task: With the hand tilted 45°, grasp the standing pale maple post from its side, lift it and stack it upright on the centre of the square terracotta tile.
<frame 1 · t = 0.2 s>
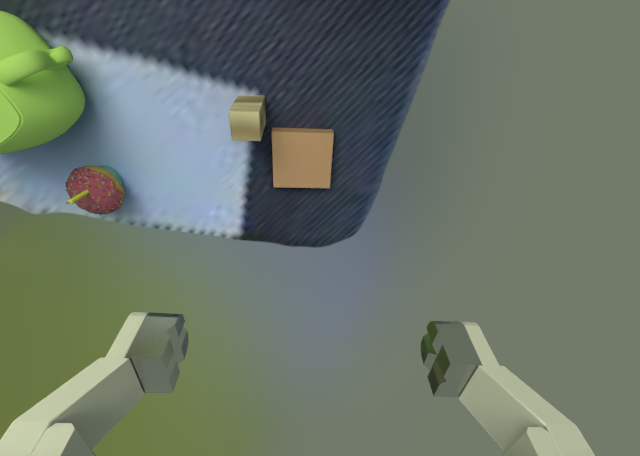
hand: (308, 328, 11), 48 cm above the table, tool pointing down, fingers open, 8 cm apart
teapot: (5, 64, 48), on the table
cupcake: (109, 178, 59), on the table
tile: (302, 155, 59), on the table
post: (252, 108, 53), on the table
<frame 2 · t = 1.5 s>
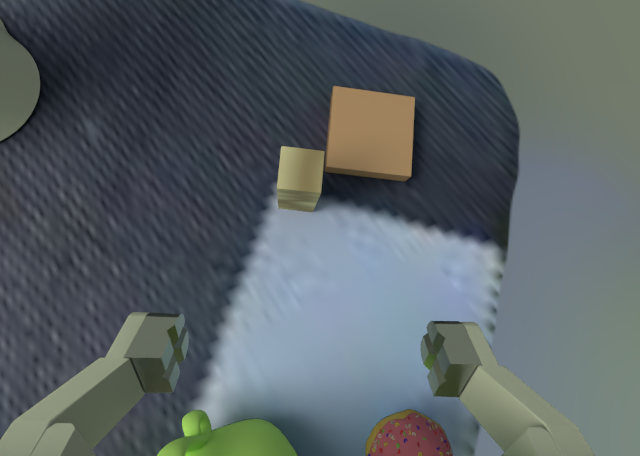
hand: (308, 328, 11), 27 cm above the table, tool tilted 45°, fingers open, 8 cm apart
cupcake: (393, 436, 37), on the table
tile: (366, 139, 42), on the table
post: (297, 193, 39), on the table
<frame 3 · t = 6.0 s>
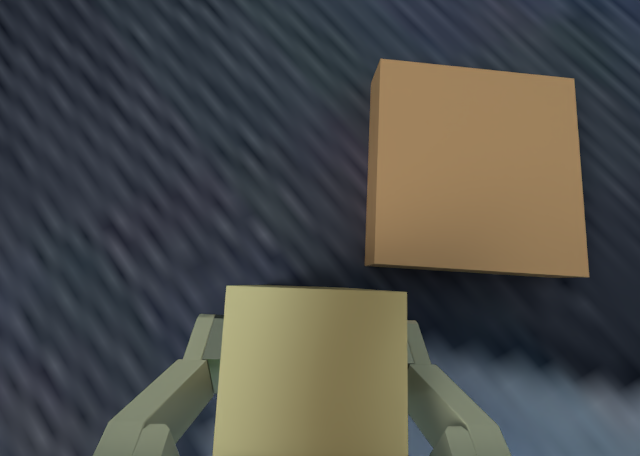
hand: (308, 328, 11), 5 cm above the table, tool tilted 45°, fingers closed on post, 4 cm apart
tile: (456, 180, 18), on the table
post: (304, 328, 16), on the table, touching gripper
when the fingers open (9 cm above the table, at t = 10.9 s): post drops 2 cm, point 2 cm above the table.
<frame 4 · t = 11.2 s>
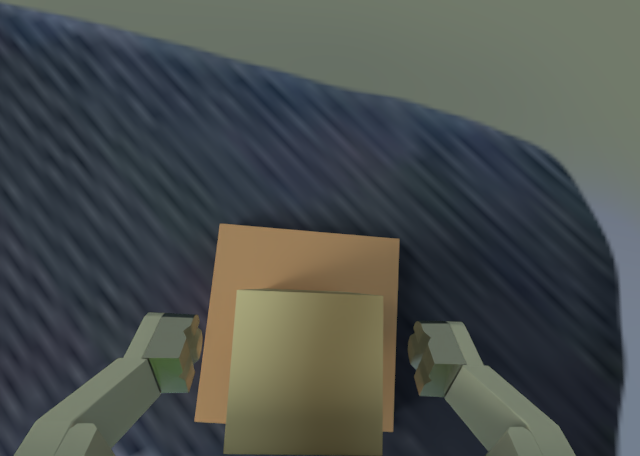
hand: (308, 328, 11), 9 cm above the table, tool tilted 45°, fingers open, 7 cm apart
tile: (302, 319, 20), on the table
post: (301, 328, 18), point 2 cm above the table
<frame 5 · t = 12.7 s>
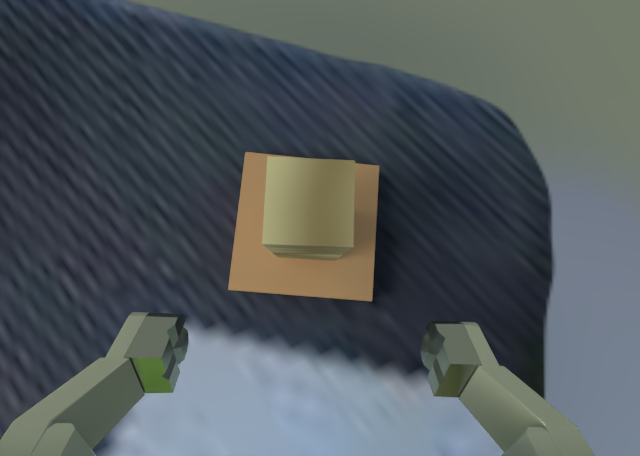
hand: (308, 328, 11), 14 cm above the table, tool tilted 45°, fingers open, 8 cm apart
tile: (306, 230, 26), on the table
post: (308, 231, 24), point 2 cm above the table
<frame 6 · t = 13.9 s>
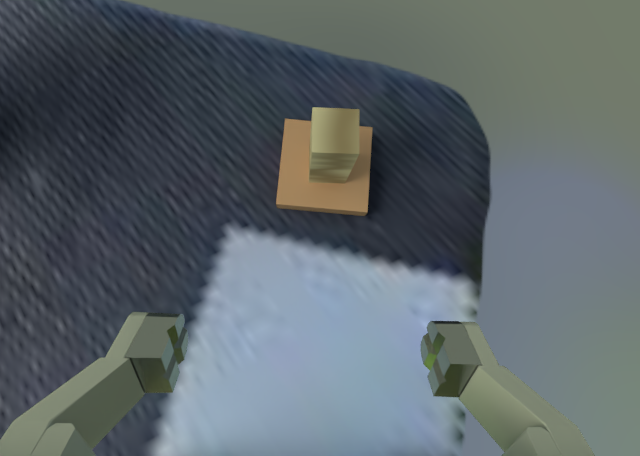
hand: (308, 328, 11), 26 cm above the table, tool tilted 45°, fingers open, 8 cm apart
tile: (324, 172, 40), on the table, touching post
post: (326, 165, 37), point 2 cm above the table, touching tile
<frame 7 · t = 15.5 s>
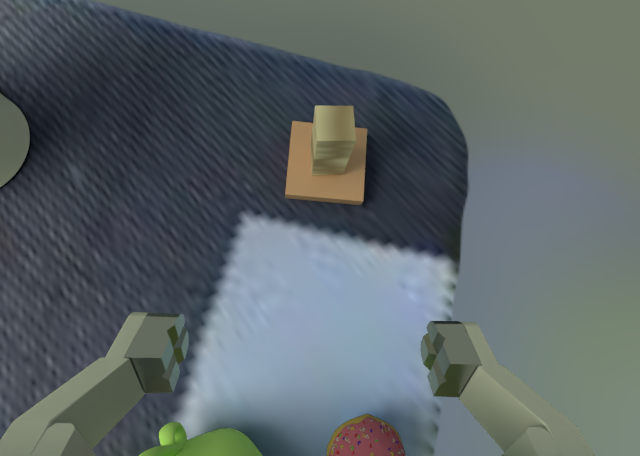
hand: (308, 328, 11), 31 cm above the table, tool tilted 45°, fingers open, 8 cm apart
cupcake: (358, 439, 40), on the table
tile: (325, 167, 46), on the table, touching post
post: (326, 160, 43), point 2 cm above the table, touching tile
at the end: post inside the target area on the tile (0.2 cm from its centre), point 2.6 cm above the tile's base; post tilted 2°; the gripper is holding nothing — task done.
